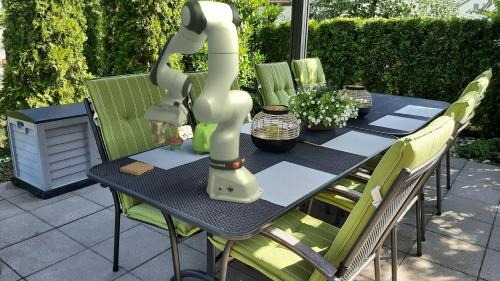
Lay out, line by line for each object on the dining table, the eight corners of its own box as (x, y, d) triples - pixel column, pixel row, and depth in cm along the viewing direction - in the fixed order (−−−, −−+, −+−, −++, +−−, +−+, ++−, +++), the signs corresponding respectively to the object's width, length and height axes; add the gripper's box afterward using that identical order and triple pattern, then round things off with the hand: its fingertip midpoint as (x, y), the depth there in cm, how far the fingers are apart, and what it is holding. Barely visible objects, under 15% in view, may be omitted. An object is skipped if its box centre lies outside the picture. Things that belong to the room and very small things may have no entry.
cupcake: (187, 148, 200) (186, 126, 197) (176, 152, 193) (175, 130, 190) (175, 146, 204) (174, 124, 201) (164, 150, 197) (162, 128, 194)
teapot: (232, 158, 186) (232, 127, 182) (189, 157, 187) (188, 126, 182) (235, 143, 210) (235, 116, 206) (197, 143, 211) (196, 115, 206)
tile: (153, 170, 169) (153, 165, 169) (137, 177, 161) (137, 172, 160) (137, 166, 174) (137, 161, 173) (120, 173, 165) (120, 167, 165)
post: (164, 141, 168) (163, 122, 165) (158, 143, 164) (157, 123, 162) (157, 140, 170) (156, 120, 167) (151, 142, 166) (150, 122, 164)
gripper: (148, 100, 173) (134, 125, 167) (184, 104, 164) (171, 130, 158) (155, 107, 178) (142, 132, 172) (191, 112, 169) (178, 138, 163)
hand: (156, 131), depth 165 cm, fingers closed on post, 4 cm apart
